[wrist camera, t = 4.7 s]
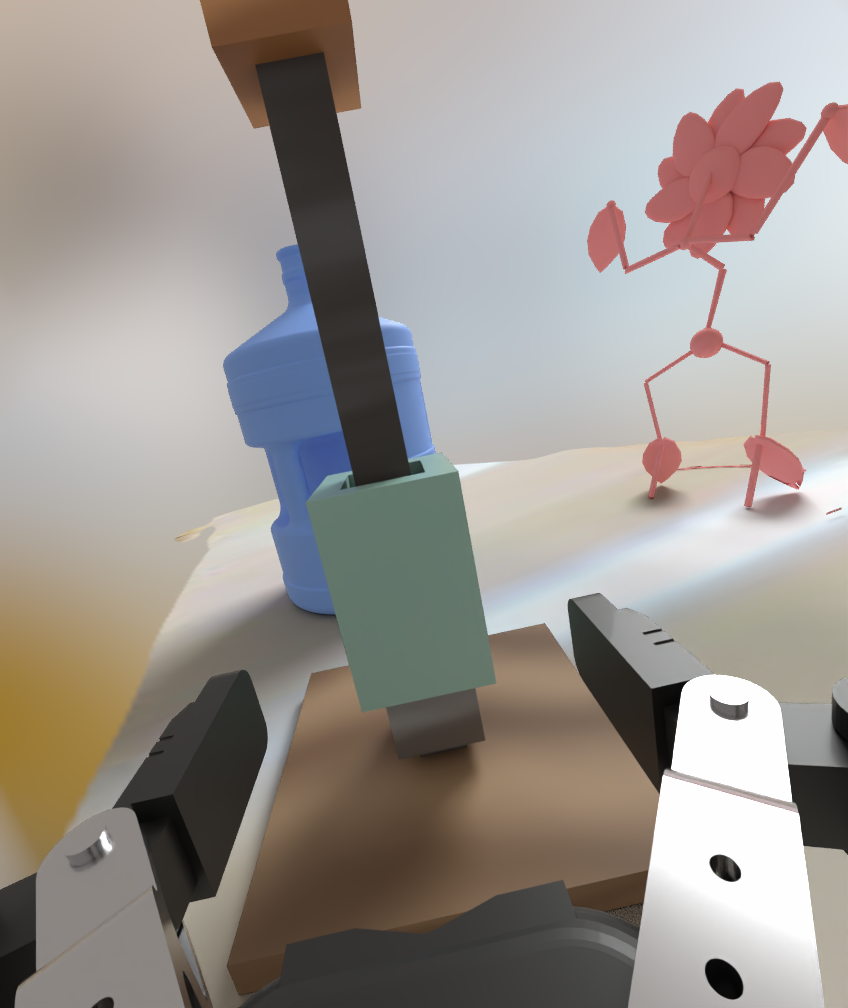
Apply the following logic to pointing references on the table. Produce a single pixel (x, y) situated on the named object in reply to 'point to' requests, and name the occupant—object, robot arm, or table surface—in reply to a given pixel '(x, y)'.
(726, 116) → the figurine
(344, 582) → the sleeve
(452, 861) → the cord stand
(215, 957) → the table surface
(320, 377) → the water jug
